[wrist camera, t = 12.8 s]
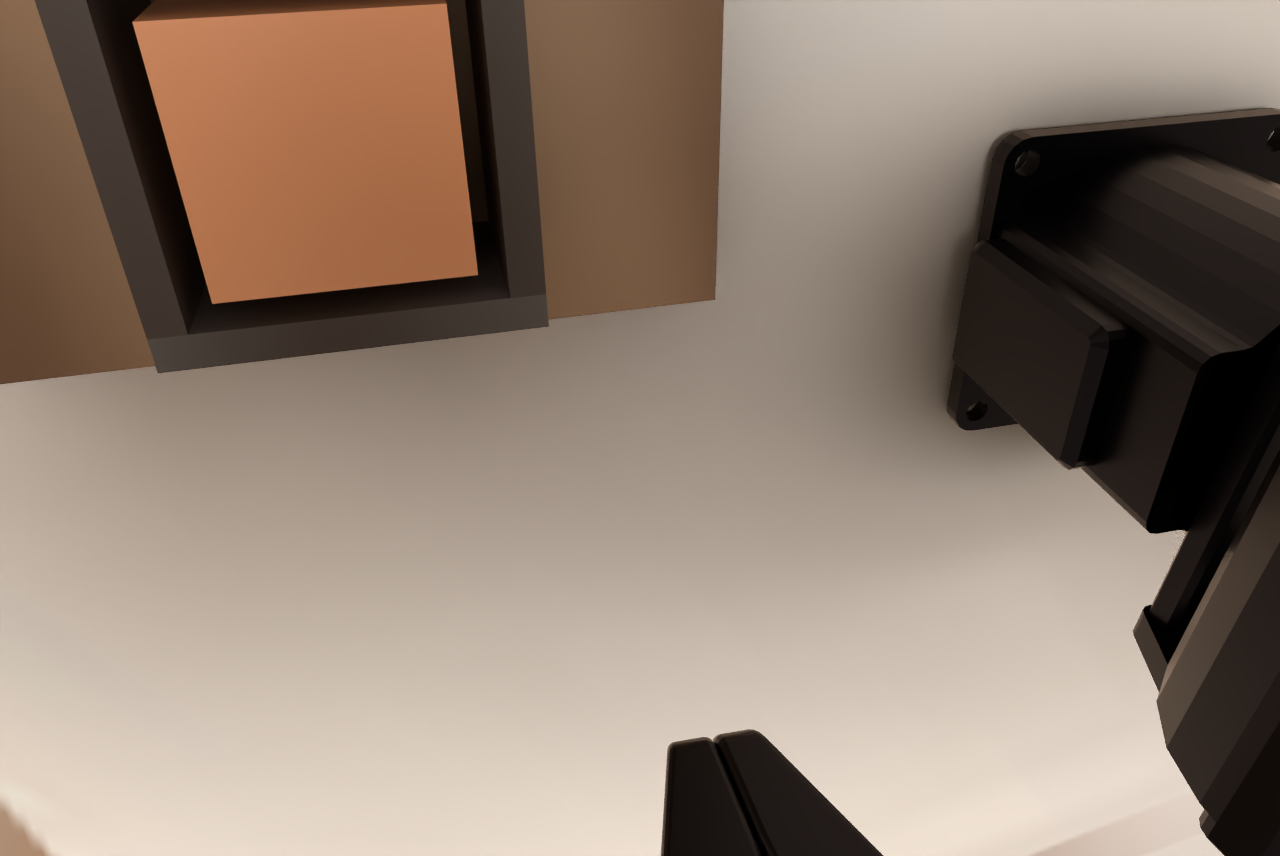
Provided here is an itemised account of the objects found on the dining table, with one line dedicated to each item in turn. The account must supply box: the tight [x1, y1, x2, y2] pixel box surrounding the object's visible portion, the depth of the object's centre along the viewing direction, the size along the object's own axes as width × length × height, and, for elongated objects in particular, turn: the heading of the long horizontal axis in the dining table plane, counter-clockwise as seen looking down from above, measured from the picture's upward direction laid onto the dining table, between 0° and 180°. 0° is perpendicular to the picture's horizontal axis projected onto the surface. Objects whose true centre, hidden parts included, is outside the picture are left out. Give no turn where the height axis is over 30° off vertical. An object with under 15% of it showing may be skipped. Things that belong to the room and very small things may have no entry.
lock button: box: [132, 0, 478, 304], centre depth 13 cm, size 3×3×3 cm
